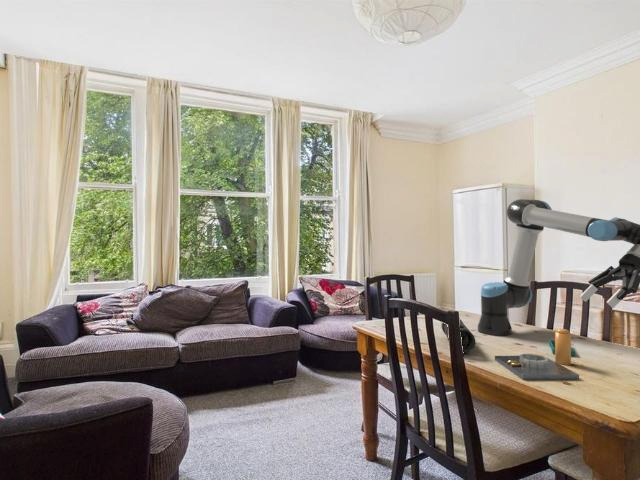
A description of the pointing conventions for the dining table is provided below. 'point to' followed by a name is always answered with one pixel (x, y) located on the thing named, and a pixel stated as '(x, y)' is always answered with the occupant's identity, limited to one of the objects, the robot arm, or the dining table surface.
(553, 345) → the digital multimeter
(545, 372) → the plate
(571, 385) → the dining table surface
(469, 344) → the muzzle brake
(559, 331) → the orange cylinder
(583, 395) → the dining table surface
